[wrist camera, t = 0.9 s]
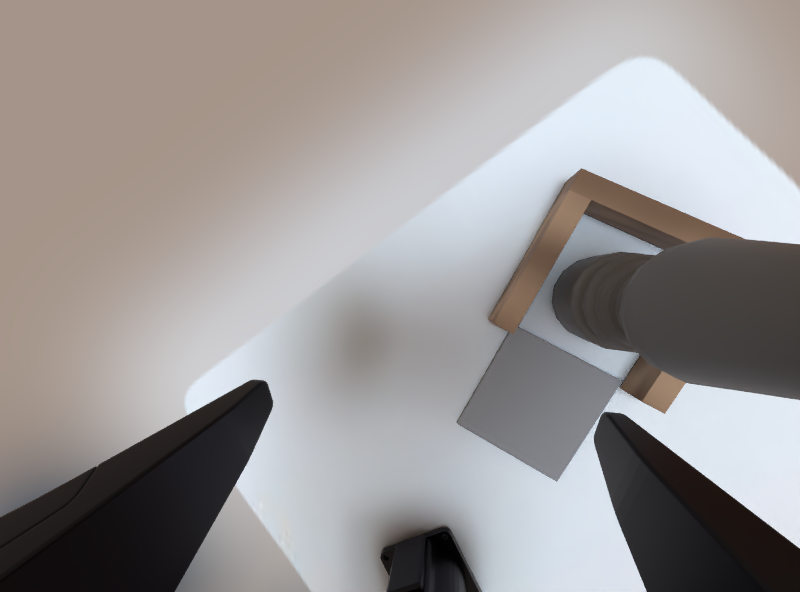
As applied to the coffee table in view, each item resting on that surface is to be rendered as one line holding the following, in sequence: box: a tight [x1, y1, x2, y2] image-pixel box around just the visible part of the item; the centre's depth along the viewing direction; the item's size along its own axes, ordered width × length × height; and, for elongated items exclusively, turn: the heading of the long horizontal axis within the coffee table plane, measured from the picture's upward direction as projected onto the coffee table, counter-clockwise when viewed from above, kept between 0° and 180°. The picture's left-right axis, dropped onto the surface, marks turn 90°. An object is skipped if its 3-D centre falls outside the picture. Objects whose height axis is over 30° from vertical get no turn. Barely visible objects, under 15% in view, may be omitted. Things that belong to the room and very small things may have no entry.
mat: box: [457, 327, 622, 481], centre depth 22 cm, size 9×8×1 cm
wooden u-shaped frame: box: [489, 168, 743, 414], centre depth 20 cm, size 12×12×2 cm
